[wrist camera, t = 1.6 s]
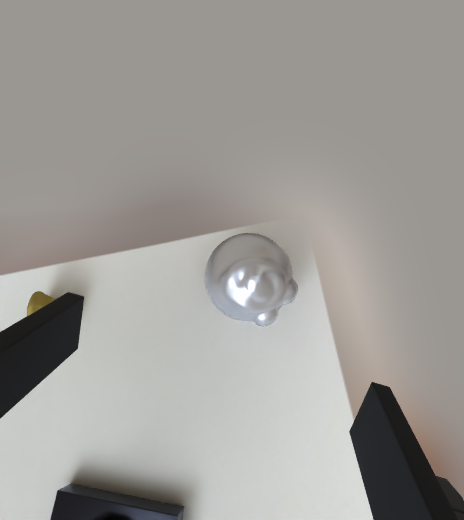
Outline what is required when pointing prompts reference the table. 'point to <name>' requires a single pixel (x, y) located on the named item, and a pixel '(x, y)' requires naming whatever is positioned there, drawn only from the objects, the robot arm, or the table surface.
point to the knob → (38, 302)
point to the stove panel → (109, 506)
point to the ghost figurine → (250, 278)
